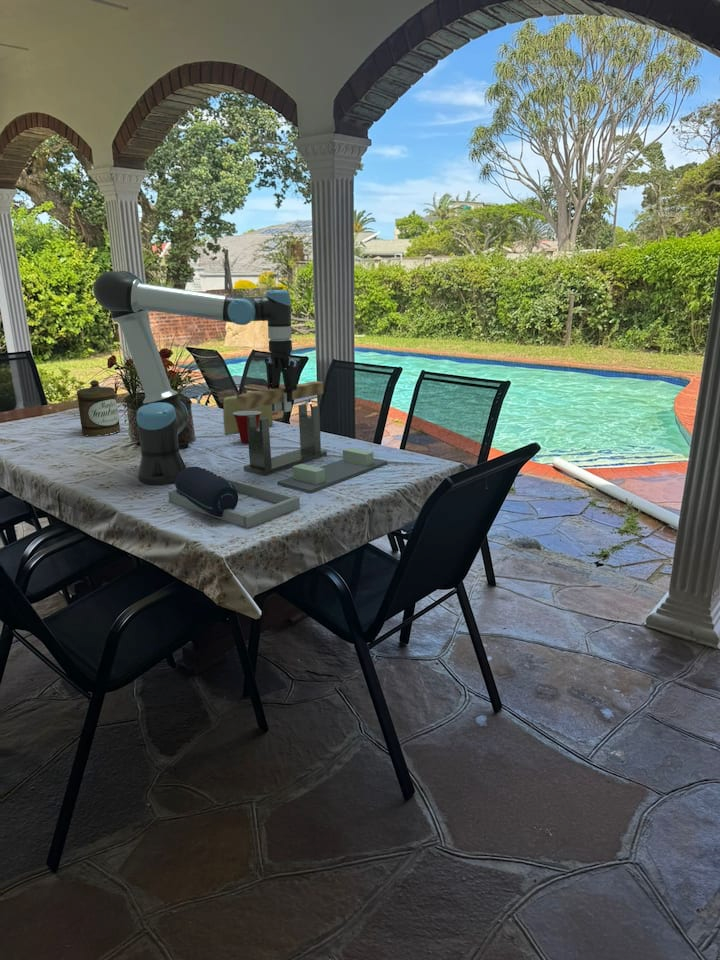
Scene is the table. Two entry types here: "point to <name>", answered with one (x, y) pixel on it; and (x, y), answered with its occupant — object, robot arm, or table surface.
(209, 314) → the robot arm
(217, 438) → the table surface
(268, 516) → the speaker dock
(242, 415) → the plastic cup
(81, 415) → the wooden container
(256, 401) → the rail
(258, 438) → the grey notched post stand
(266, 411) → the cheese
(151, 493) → the table surface
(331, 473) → the plate with green blocks
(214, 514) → the portable speaker
